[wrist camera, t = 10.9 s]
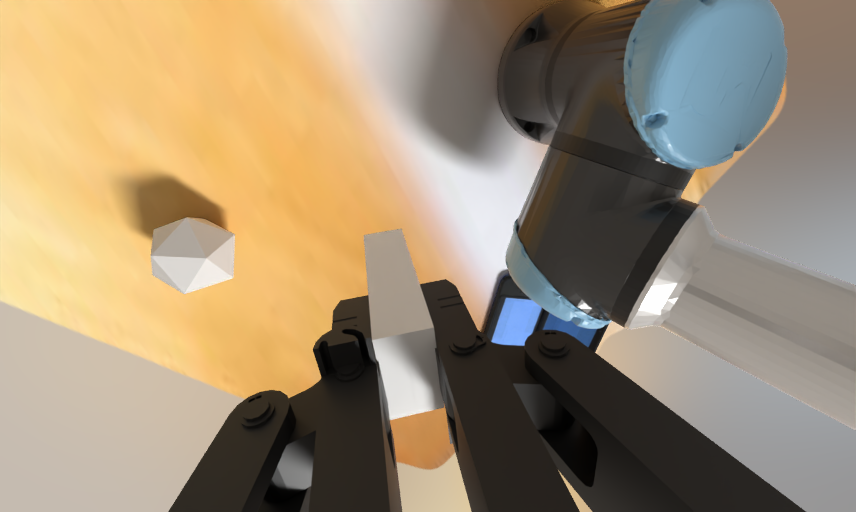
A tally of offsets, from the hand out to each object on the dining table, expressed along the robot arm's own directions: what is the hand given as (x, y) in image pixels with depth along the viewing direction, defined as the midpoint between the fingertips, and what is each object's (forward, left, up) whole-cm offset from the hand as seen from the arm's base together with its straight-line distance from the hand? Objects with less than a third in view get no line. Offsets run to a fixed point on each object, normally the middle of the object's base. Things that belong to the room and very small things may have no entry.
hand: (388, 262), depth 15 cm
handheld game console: (-20, +31, -33) cm, 50 cm away
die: (+21, +9, -33) cm, 40 cm away
